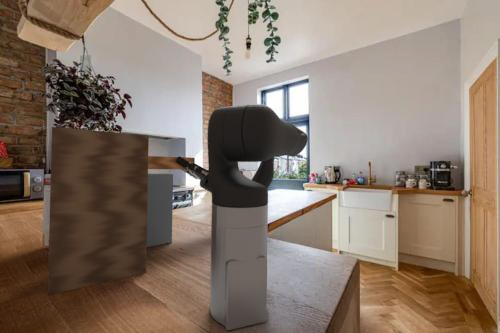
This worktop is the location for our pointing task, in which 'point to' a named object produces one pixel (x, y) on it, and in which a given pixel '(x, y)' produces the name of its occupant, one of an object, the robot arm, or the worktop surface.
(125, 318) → the worktop surface
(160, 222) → the slate pedestal
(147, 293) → the worktop surface
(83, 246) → the walnut pedestal
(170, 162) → the brown bar
